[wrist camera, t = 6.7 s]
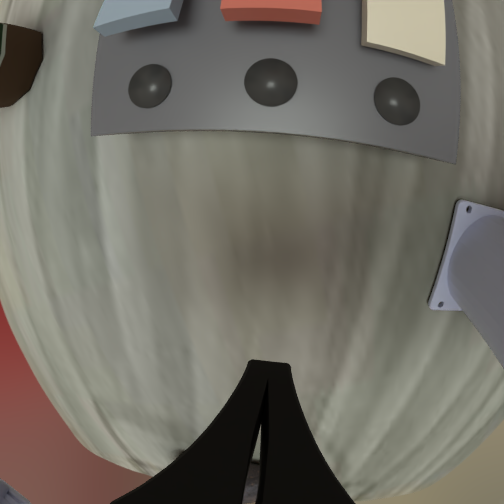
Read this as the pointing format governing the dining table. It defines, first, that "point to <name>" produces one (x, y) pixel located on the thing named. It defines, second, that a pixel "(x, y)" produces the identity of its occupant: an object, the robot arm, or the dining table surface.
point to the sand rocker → (406, 28)
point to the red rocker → (272, 10)
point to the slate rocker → (135, 14)
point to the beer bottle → (18, 61)
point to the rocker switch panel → (277, 81)
